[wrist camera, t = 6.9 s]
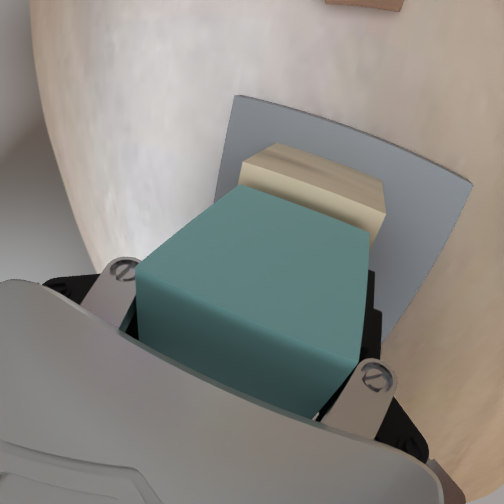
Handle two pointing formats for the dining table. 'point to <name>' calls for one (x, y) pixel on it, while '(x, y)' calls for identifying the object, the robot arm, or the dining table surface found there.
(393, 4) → the terracotta block
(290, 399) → the teal block
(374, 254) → the build board
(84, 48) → the dining table surface
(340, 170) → the beech block
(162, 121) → the dining table surface
